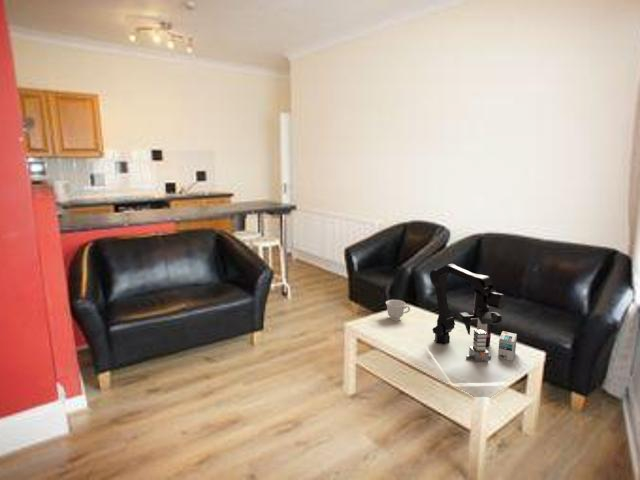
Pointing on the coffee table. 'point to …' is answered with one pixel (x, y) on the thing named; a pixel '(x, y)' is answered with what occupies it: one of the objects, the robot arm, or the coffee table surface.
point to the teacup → (396, 309)
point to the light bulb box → (507, 345)
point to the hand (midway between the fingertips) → (478, 334)
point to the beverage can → (484, 327)
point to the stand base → (478, 355)
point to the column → (479, 340)
